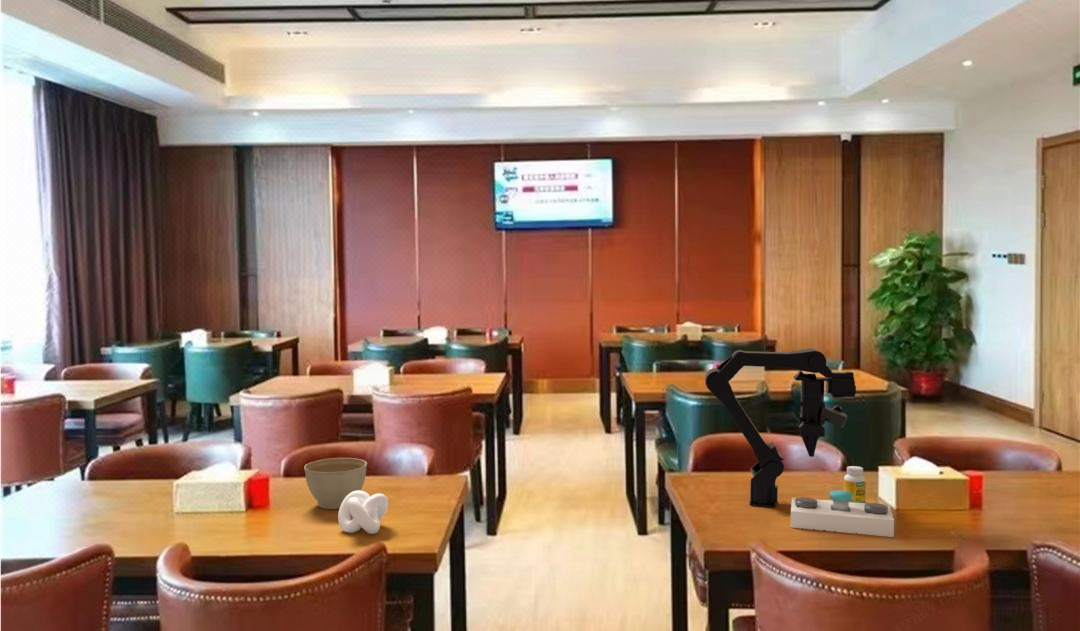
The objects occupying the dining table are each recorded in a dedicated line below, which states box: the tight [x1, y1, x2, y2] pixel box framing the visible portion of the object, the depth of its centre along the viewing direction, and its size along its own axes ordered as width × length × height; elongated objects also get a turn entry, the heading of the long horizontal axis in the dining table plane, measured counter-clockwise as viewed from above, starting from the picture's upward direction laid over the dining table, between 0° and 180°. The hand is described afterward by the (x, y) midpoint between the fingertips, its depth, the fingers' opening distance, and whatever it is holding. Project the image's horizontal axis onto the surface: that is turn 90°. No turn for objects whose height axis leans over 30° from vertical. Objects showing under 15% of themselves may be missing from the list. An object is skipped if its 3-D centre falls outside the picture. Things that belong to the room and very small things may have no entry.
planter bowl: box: [303, 457, 368, 510], centre depth 222 cm, size 16×16×11 cm
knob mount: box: [790, 496, 895, 538], centre depth 203 cm, size 23×12×4 cm, turn 72°
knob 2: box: [864, 502, 888, 515], centre depth 201 cm, size 5×5×5 cm
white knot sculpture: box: [337, 490, 389, 535], centre depth 200 cm, size 11×12×9 cm
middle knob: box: [829, 489, 852, 511], centre depth 203 cm, size 5×5×5 cm
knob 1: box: [795, 497, 817, 509], centre depth 206 cm, size 5×5×5 cm
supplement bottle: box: [843, 465, 867, 503], centre depth 220 cm, size 5×5×10 cm
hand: (811, 456), depth 218 cm, fingers closed
